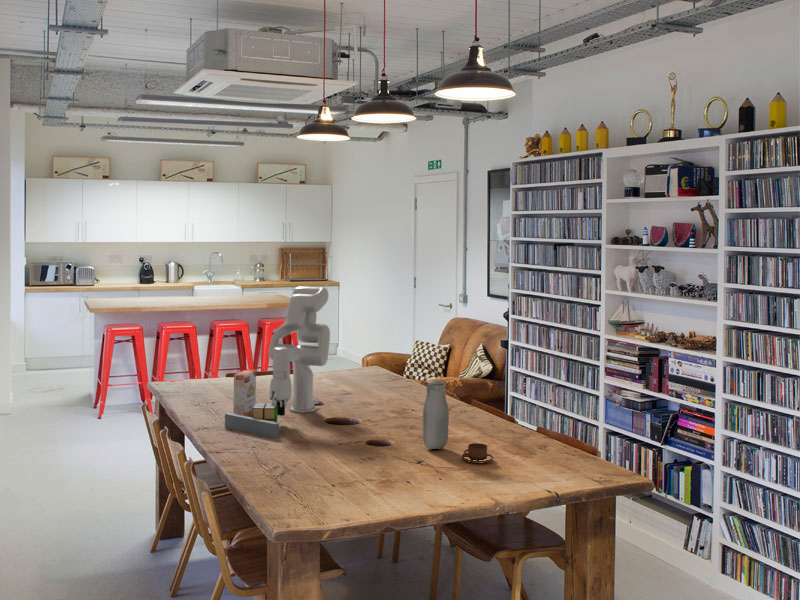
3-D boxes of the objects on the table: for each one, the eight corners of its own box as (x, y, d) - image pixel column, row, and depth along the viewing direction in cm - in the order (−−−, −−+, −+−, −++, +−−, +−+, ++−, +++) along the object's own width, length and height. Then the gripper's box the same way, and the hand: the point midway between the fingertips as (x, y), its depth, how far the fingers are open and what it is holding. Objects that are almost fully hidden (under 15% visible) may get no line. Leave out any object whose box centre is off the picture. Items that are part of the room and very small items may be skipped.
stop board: (229, 426, 366) (229, 412, 365) (278, 437, 349) (278, 423, 348) (224, 427, 364) (224, 413, 363) (274, 438, 347) (274, 424, 346)
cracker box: (245, 420, 377) (245, 375, 375) (232, 419, 378) (232, 374, 377) (256, 413, 391) (256, 370, 389) (244, 412, 392) (244, 369, 390)
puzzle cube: (254, 425, 368) (254, 403, 367) (277, 425, 369) (277, 403, 368) (252, 430, 358) (252, 408, 357) (275, 431, 359) (275, 408, 358)
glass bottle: (435, 444, 341) (437, 377, 339) (452, 450, 333) (454, 381, 331) (417, 448, 335) (418, 380, 333) (433, 454, 327) (435, 384, 325)
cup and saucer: (480, 467, 310) (481, 451, 310) (455, 461, 318) (455, 445, 318) (499, 461, 319) (499, 445, 319) (474, 455, 327) (474, 440, 327)
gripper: (286, 371, 378) (286, 411, 379) (263, 376, 365) (263, 416, 367) (298, 373, 373) (298, 413, 375) (275, 378, 361) (275, 419, 363)
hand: (281, 414), depth 371 cm, fingers closed
